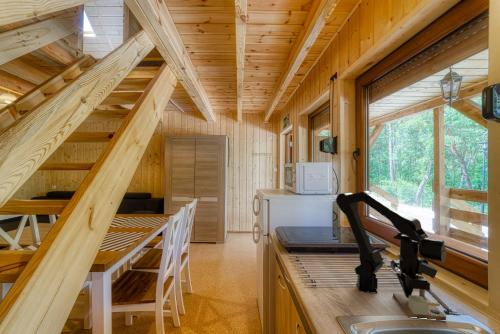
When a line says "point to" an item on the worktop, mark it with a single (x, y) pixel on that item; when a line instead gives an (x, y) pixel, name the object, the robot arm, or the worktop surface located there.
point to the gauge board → (432, 314)
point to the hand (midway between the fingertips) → (407, 297)
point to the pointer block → (420, 305)
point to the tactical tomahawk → (442, 303)
